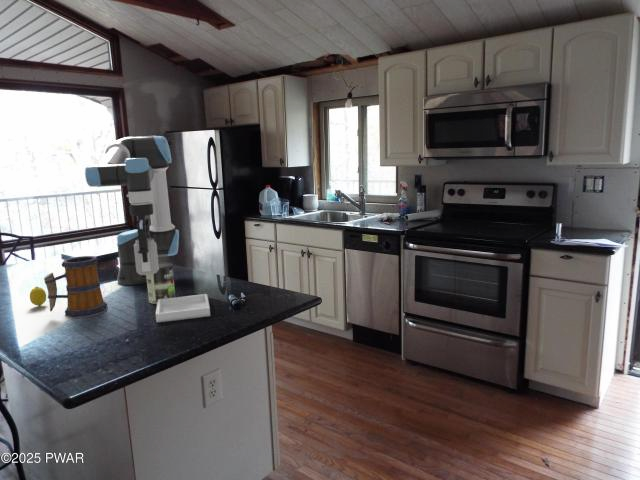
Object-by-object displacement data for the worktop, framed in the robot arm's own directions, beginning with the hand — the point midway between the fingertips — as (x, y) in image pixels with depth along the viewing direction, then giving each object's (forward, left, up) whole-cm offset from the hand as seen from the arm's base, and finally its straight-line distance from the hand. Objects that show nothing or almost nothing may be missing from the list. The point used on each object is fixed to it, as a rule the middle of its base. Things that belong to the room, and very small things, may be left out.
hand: (147, 268), depth 169 cm
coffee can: (-18, +3, -17) cm, 25 cm away
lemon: (-28, -43, -17) cm, 55 cm away
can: (0, 0, -2) cm, 2 cm away
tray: (0, +11, -17) cm, 20 cm away
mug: (-13, -26, -17) cm, 34 cm away
